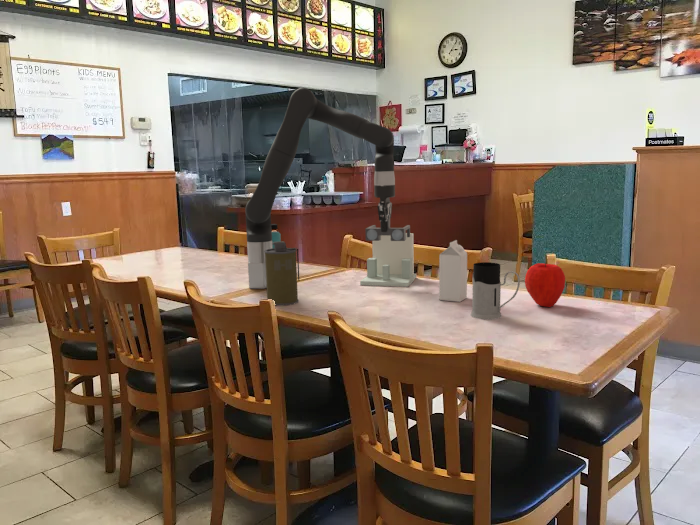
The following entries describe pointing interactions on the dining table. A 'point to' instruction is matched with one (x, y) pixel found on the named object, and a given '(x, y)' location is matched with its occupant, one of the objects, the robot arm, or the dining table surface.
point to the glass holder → (488, 290)
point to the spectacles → (395, 233)
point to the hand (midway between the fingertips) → (385, 231)
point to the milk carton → (453, 273)
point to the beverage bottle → (275, 234)
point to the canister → (282, 274)
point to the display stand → (391, 263)
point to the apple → (545, 283)
